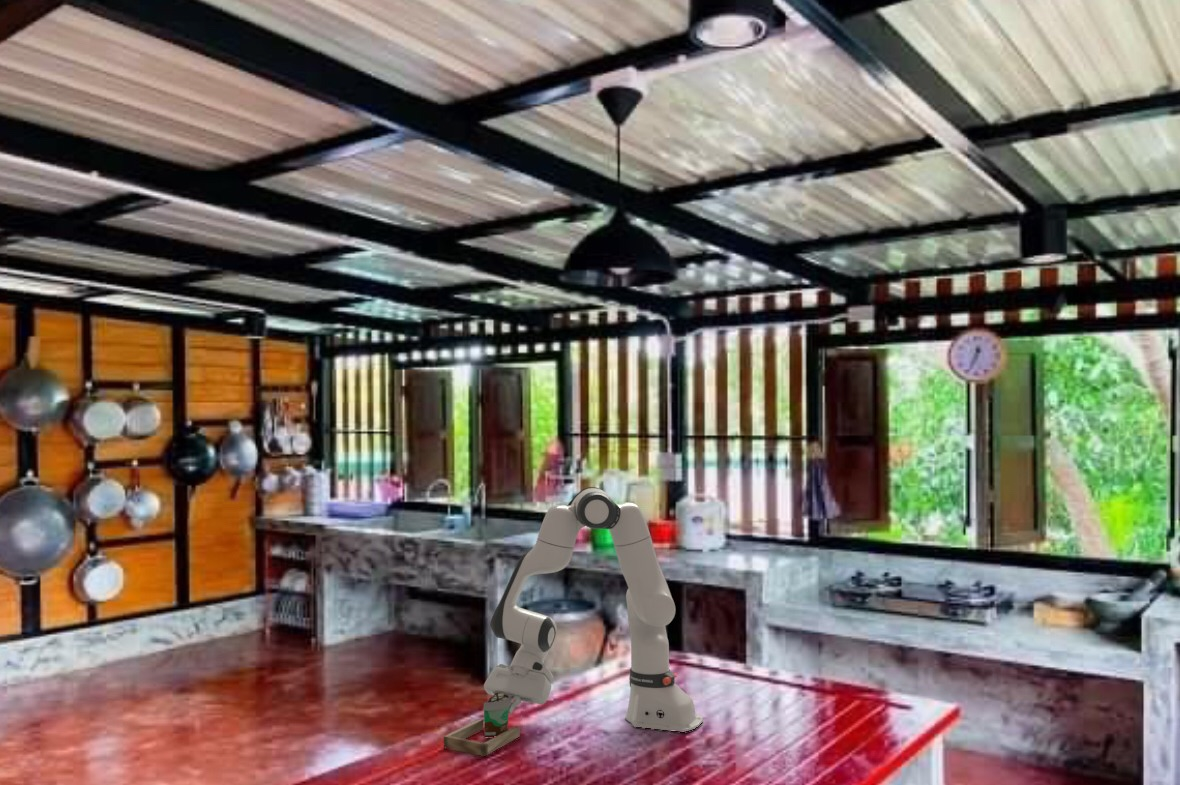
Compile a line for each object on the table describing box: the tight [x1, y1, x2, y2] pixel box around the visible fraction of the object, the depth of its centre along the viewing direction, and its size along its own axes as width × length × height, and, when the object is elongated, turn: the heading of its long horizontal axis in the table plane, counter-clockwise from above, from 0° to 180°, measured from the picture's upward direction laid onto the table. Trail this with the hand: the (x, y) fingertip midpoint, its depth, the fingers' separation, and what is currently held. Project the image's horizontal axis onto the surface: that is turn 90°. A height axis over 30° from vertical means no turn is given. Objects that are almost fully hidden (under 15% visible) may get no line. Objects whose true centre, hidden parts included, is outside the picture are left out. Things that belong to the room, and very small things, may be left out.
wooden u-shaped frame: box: [443, 718, 521, 757], centre depth 245 cm, size 13×16×3 cm
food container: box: [482, 690, 513, 738], centre depth 253 cm, size 12×6×10 cm, turn 170°
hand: (506, 711), depth 256 cm, fingers closed
